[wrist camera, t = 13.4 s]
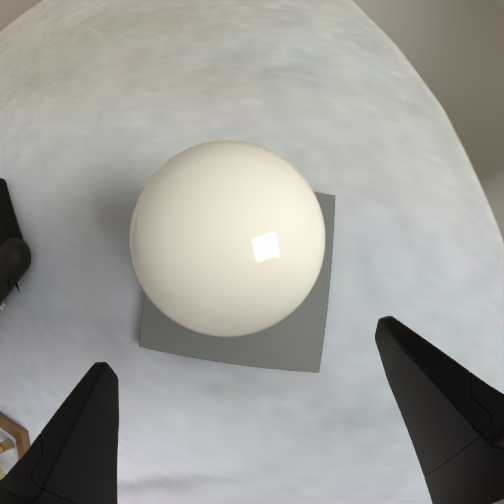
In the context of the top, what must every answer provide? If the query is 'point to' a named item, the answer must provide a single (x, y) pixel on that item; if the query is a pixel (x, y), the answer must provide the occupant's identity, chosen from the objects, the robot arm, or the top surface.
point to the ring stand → (17, 433)
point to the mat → (261, 343)
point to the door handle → (10, 247)
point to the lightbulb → (227, 238)
